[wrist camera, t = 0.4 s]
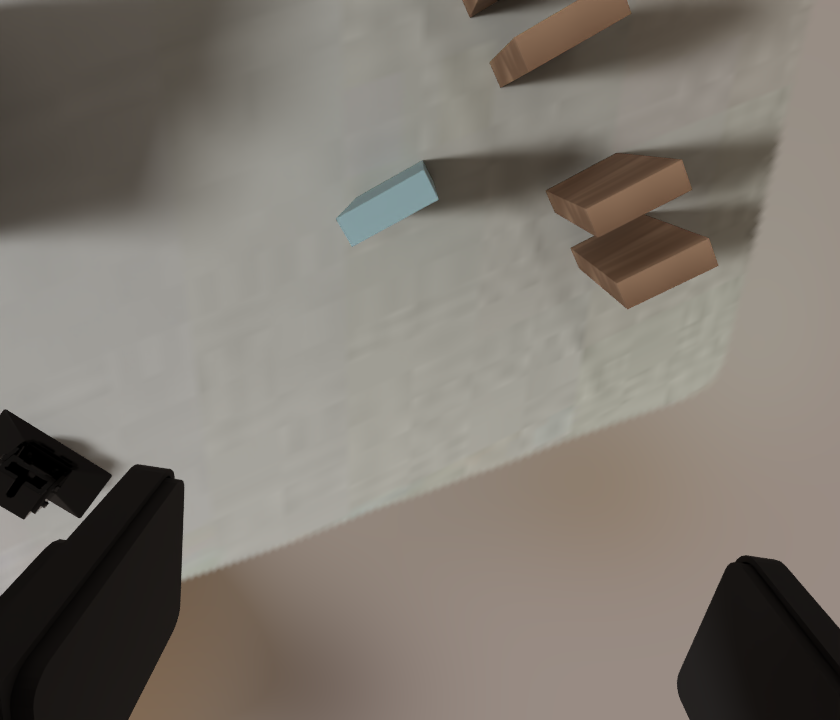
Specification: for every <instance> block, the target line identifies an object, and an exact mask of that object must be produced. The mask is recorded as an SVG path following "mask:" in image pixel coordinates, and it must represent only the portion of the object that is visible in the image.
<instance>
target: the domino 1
mask: <svg viewBox="0 0 840 720" xmlns="http://www.w3.org/2000/svg"><path fill="white" fill-rule="evenodd" d="M437 200H439V199H438V195H437V192H436V189H435V185H434V182H433V180H432V178H431V176H430V174H429V172H428V170H427V168H426V166H425V164H424V162H423V160H422V161H420V162H419V163H417V164H415V165H413V166H412V167H410V168H408V169H406V170H404V171H403V172H401V173H399V174H397V175H396V176H394V177H392V178H390V179H388V180H387V181H385V182H383V183H381V184H380V185H378V186H376V187H374V188H372V189H371V190H369V191H367V192H365V193H364V194H362V195H360V196H358V197H356V198H355V199H354V200H353V201H352V203H351V204H350V205H349V206H348V207H347V208H346V209H345V210H344V211H343V212H342V213H341V214H340V215H339V216H338V217H337V218H336V220H337V222H338V223H339V225H340V227H341V228H342V230H343V232H344V234H345V235H346V237H347V239H348V241H349V242H350V244H351V246H352V247H353V246H355V245H356V244H358V243H360V242H362V241H364V240H366V239H367V238H369V237H371V236H373V235H375V234H377V233H378V232H380V231H382V230H384V229H386V228H387V227H389V226H391V225H393V224H395V223H397V222H398V221H400V220H402V219H404V218H406V217H408V216H409V215H411V214H413V213H415V212H417V211H419V210H420V209H422V208H424V207H426V206H428V205H430V204H431V203H433V202H435V201H437Z"/></svg>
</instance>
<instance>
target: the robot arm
mask: <svg viewBox="0 0 840 720" xmlns="http://www.w3.org/2000/svg"><path fill="white" fill-rule="evenodd" d="M183 512H184V482H183V481H182V480H178V479H175V477H174V472H173V471H172V470H171V469H166V468H159V467H153V466H146V465H139V464H137V465H134V466H133V467H131V468H130V469H129V471H128V472H127V473H126V474H125V475H124V476H123V477H122V478H121V480H120V481H119V482H118V483H117V484H116V485H115V486H114V487H113V488H112V490H111V491H110V492H109V493H108V494H107V495H106V496H105V497H104V499H103V500H102V501H101V502H100V503H99V504H98V505H97V506H96V507H95V509H94V510H93V511H92V512H91V513H90V514H89V515H88V516H87V517H86V519H85V520H84V521H83V522H82V523H81V524H80V525H79V526H78V528H77V529H76V530H75V531H74V532H73V533H72V534H71V535H70V536H69V538H68V539H67V540H62V539H59V540H57V541H54V542H52V543H51V544H50V545H49V546H47V547H46V548H45V549H44V550H43V551H42V552H41V553H40V554H39V555H38V556H37V558H36V559H35V560H34V561H33V562H32V563H31V564H30V565H29V566H28V567H27V568H26V569H25V570H24V572H23V573H22V574H21V575H20V576H19V577H18V578H17V579H16V580H15V581H14V582H13V583H12V584H11V586H10V587H9V588H8V589H7V590H6V591H5V592H4V593H3V594H2V595H1V596H0V720H128V719H129V717H130V715H131V713H132V711H133V709H134V707H135V705H136V703H137V701H138V699H139V697H140V695H141V693H142V691H143V689H144V687H145V685H146V684H147V682H148V679H149V678H150V676H151V674H152V672H153V670H154V668H155V666H156V664H157V662H158V660H159V658H160V656H161V654H162V652H163V650H164V648H165V646H166V644H167V642H168V640H169V638H170V636H171V634H172V632H173V630H174V628H175V625H176V622H177V619H178V616H179V611H180V596H181V568H182V540H183ZM677 689H678V694H679V697H680V700H681V702H682V704H683V706H684V708H685V711H686V713H687V715H688V717H689V719H690V720H840V629H839V627H838V626H837V625H836V624H835V623H834V622H833V620H832V619H831V618H830V617H829V616H828V615H827V613H826V612H825V611H824V610H823V609H822V608H821V606H820V605H819V604H818V603H817V602H816V601H815V600H814V598H813V597H812V596H811V595H810V594H809V593H808V592H807V590H806V589H805V588H804V587H803V586H802V585H801V583H800V582H799V581H798V580H797V579H796V577H795V576H794V575H793V574H792V573H791V572H790V571H789V569H788V568H787V567H786V566H785V565H784V564H783V563H782V562H780V561H777V560H774V559H767V558H760V557H754V556H747V555H745V556H741V557H739V558H738V559H737V560H736V562H733V563H730V564H729V565H728V566H727V568H726V569H725V572H724V574H723V576H722V578H721V581H720V583H719V585H718V587H717V589H716V591H715V594H714V596H713V598H712V600H711V603H710V605H709V607H708V609H707V612H706V614H705V616H704V618H703V621H702V623H701V625H700V627H699V629H698V632H697V634H696V636H695V638H694V641H693V643H692V645H691V647H690V650H689V652H688V654H687V656H686V658H685V661H684V663H683V665H682V667H681V670H680V672H679V675H678V680H677Z"/></svg>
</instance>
